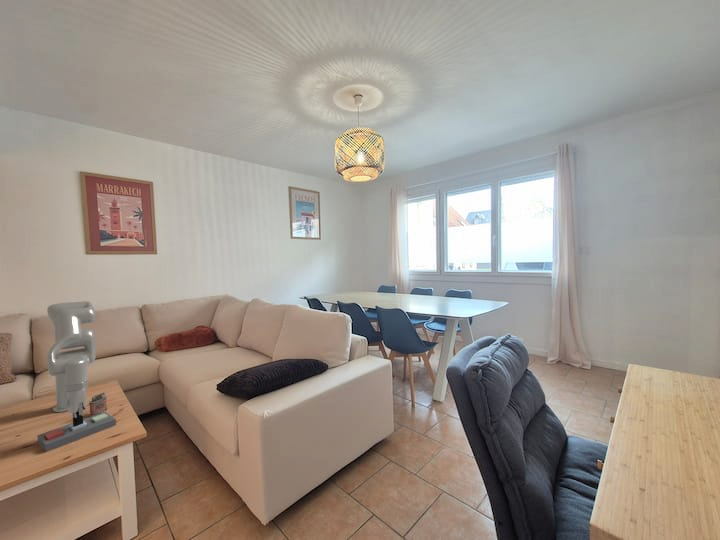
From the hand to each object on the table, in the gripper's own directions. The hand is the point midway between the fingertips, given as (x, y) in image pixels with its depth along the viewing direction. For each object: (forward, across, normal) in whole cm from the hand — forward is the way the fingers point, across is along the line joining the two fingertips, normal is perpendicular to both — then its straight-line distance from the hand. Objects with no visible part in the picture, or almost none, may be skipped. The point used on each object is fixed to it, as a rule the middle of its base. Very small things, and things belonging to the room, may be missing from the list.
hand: (78, 424), depth 138 cm
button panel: (+4, 0, 0) cm, 4 cm away
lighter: (+4, -16, +12) cm, 21 cm away
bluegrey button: (+3, 0, 0) cm, 3 cm away
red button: (+3, 0, -8) cm, 9 cm away
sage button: (+3, 0, +8) cm, 9 cm away
